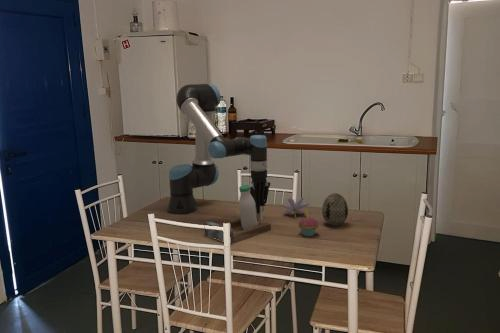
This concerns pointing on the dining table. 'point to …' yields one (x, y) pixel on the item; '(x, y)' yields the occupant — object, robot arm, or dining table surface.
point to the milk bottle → (247, 208)
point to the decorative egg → (335, 209)
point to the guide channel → (239, 235)
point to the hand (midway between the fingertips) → (259, 219)
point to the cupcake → (308, 225)
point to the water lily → (295, 206)
